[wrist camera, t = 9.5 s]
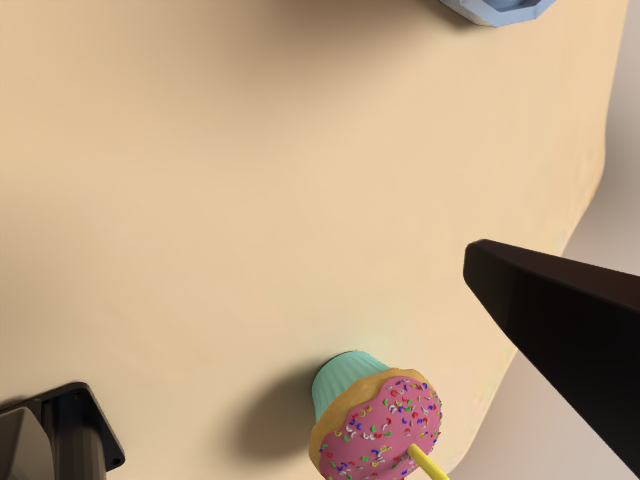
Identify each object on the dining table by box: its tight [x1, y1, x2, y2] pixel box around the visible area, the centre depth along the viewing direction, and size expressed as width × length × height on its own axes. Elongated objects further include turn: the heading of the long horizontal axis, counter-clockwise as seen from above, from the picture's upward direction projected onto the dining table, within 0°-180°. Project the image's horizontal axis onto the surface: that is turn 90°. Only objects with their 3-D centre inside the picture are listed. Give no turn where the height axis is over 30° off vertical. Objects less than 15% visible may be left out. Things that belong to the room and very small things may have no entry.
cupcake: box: [309, 351, 450, 480], centre depth 27 cm, size 9×8×12 cm
